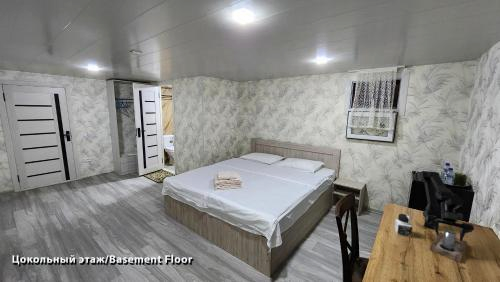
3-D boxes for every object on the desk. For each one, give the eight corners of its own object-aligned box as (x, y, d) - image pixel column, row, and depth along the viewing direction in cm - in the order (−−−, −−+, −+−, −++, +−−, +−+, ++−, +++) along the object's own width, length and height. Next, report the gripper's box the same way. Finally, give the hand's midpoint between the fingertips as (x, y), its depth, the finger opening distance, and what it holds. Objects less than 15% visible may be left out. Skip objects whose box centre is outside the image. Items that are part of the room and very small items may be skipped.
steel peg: (440, 251, 115) (443, 231, 113) (442, 248, 117) (445, 228, 116) (451, 256, 111) (454, 235, 109) (453, 252, 114) (456, 232, 112)
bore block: (429, 250, 116) (430, 246, 116) (439, 235, 129) (440, 232, 129) (459, 262, 107) (460, 258, 106) (467, 245, 120) (467, 241, 119)
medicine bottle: (397, 234, 130) (399, 217, 128) (394, 228, 137) (396, 211, 135) (411, 237, 127) (413, 219, 125) (407, 231, 134) (409, 213, 132)
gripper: (429, 201, 119) (429, 228, 112) (476, 210, 109) (479, 240, 102) (426, 208, 127) (425, 234, 120) (469, 218, 117) (471, 246, 109)
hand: (449, 238), depth 113 cm, fingers open, 9 cm apart
